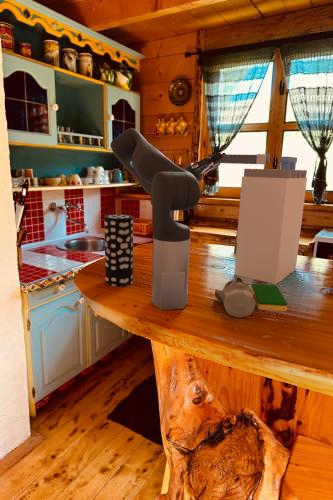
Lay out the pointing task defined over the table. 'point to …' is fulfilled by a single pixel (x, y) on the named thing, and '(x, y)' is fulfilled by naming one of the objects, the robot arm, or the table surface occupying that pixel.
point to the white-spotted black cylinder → (118, 250)
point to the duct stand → (270, 221)
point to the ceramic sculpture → (237, 298)
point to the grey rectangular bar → (243, 159)
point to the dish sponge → (268, 297)
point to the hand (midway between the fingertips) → (223, 154)
